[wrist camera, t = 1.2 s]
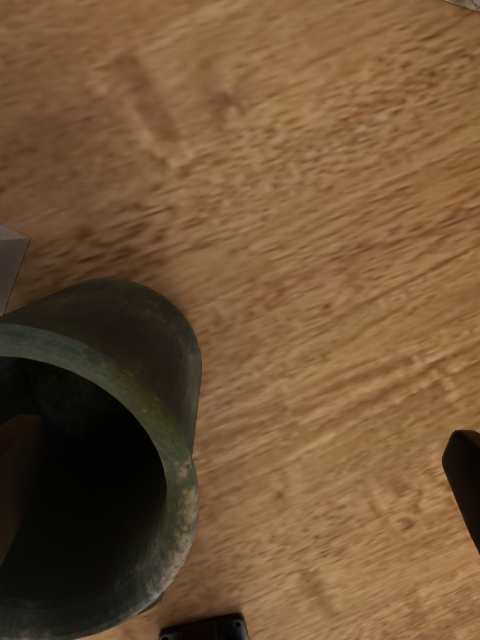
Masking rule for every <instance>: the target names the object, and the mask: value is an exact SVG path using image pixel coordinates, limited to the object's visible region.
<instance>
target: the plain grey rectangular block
mask: <svg viewBox="0 0 480 640" xmlns="http://www.w3.org/2000/svg"><path fill="white" fill-rule="evenodd" d="M29 240H30V238H29V237H27V236H25V235H23V234H21V233H18V232H16V231H14V230H12V229H10V228H8V227H5V226H3V225H1V224H0V316H2V315H3V313H4V310H5V307H6V304H7V301H8V299H9V296H10V293H11V290H12V287H13V285H14V282H15V279H16V276H17V273H18V271H19V268H20V265H21V262H22V259H23V257H24V254H25V251H26V248H27V245H28V243H29Z"/></svg>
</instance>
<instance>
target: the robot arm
mask: <svg viewBox="0 0 480 640" xmlns="http://www.w3.org/2000/svg"><path fill="white" fill-rule="evenodd" d="M46 454H47V441H46V436H45V430H44V425H43V421H42V418H41V417H40V416H38V415H18V416H16V417H14V418H13V419H11V420H9V421H8V422H6V423H4V424H3V425H1V426H0V567H1V565H2V563H3V561H4V559H5V557H6V555H7V553H8V551H9V548H10V546H11V544H12V542H13V540H14V538H15V536H16V534H17V532H18V529H19V527H20V524H21V522H22V519H23V517H24V514H25V512H26V509H27V506H28V503H29V501H30V498H31V495H32V493H33V490H34V487H35V484H36V482H37V479H38V476H39V474H40V471H41V468H42V466H43V463H44V460H45V457H46ZM442 465H443V469H444V471H445V474H446V476H447V479H448V481H449V484H450V486H451V489H452V491H453V494H454V496H455V499H456V502H457V504H458V507H459V509H460V512H461V514H462V517H463V519H464V522H465V524H466V526H467V529H468V531H469V533H470V536H471V538H472V540H473V542H474V544H475V546H476V548H477V550H478V552H479V554H480V433H478V432H476V431H473V430H455V431H454V432H453V433H452V434H451V437H450V439H449V441H448V444H447V446H446V449H445V451H444V453H443V456H442ZM159 640H249V636H248V632H247V628H246V625H245V621H244V617H243V616H242V615H240V614H235V615H230V616H225V617H221V618H216V619H211V620H206V621H201V622H196V623H191V624H186V625H181V626H176V627H172V628H167V629H163V630H161V631H160V633H159Z"/></svg>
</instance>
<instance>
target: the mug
mask: <svg viewBox="0 0 480 640" xmlns="http://www.w3.org/2000/svg"><path fill="white" fill-rule="evenodd" d="M201 376H202V361H201V353H200V349H199V345H198V342H197V339H196V336H195V334H194V332H193V330H192V328H191V326H190V325H189V323H188V322H187V320H186V319H185V317H184V316H183V314H182V313H181V312H180V311H179V310H178V309H177V308H176V307H175V306H174V305H173V304H172V303H171V302H170V301H168V300H167V299H166V298H165V297H163V296H162V295H161V294H159V293H157V292H155V291H154V290H152V289H150V288H148V287H146V286H143V285H141V284H138V283H136V282H131V281H127V280H123V279H112V278H102V279H92V280H88V281H84V282H80V283H77V284H75V285H72V286H70V287H68V288H65V289H63V290H61V291H58V292H56V293H54V294H52V295H49V296H47V297H45V298H42V299H40V300H38V301H35V302H33V303H31V304H28V305H26V306H24V307H21V308H19V309H17V310H14V311H12V312H10V313H7V314H5V315H3V316H0V426H1V425H3V424H4V423H6V422H8V421H9V420H11V419H13V418H14V417H16V416H18V415H38V416H40V417H41V418H42V421H43V425H44V430H45V436H46V441H47V454H46V457H45V460H44V463H43V466H42V468H41V471H40V474H39V476H38V479H37V482H36V484H35V487H34V490H33V493H32V495H31V498H30V501H29V503H28V506H27V509H26V512H25V514H24V517H23V519H22V522H21V524H20V527H19V529H18V532H17V534H16V536H15V538H14V540H13V542H12V544H11V546H10V548H9V551H8V553H7V555H6V557H5V559H4V561H3V563H2V565H1V567H0V640H74V639H79V638H83V637H87V636H91V635H95V634H97V633H100V632H102V631H105V630H108V629H110V628H113V627H115V626H117V625H119V624H121V623H123V622H125V621H126V620H128V619H130V618H132V617H134V616H136V615H139V614H141V613H143V612H145V611H147V610H149V609H151V608H153V607H154V606H155V605H156V604H157V603H159V602H160V601H161V599H162V597H163V595H164V593H165V590H166V588H167V587H168V586H169V585H170V584H171V583H172V581H173V580H174V578H175V577H176V575H177V574H178V572H179V570H180V569H181V567H182V566H183V564H184V562H185V560H186V557H187V555H188V552H189V550H190V548H191V545H192V543H193V541H194V537H195V532H196V528H197V523H198V519H199V495H200V494H199V487H198V481H197V474H196V469H195V466H194V463H193V460H192V453H193V445H194V436H195V427H196V419H197V410H198V402H199V393H200V385H201Z"/></svg>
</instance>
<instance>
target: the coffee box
mask: <svg viewBox="0 0 480 640" xmlns="http://www.w3.org/2000/svg"><path fill="white" fill-rule="evenodd" d="M444 1H447V2H450V3H453V4H456V5H459V6H462V7H465V8H468V9H471V10H475V11H478V12H480V0H444Z"/></svg>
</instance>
